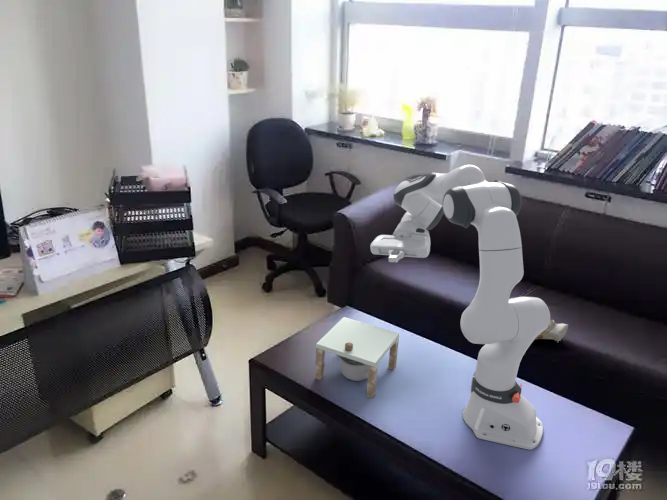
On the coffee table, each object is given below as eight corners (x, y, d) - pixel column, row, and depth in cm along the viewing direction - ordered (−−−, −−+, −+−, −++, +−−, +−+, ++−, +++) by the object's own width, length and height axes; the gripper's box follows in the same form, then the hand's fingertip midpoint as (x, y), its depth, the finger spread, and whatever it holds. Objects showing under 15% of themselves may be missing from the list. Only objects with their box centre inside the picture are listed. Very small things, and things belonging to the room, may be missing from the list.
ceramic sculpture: (569, 327, 201) (524, 321, 205) (566, 349, 204) (522, 343, 209) (568, 313, 210) (525, 308, 215) (565, 334, 214) (522, 328, 218)
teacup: (369, 388, 180) (371, 366, 177) (335, 382, 182) (336, 361, 179) (375, 362, 192) (377, 342, 189) (343, 358, 194) (345, 337, 191)
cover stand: (396, 366, 191) (399, 337, 187) (372, 398, 175) (374, 367, 171) (342, 348, 199) (344, 320, 195) (315, 378, 183) (316, 348, 179)
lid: (398, 337, 186) (399, 329, 185) (375, 367, 171) (375, 358, 169) (343, 320, 194) (344, 312, 193) (316, 347, 179) (316, 339, 178)
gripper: (376, 227, 203) (362, 250, 193) (432, 230, 194) (420, 254, 184) (379, 242, 206) (365, 265, 197) (435, 246, 197) (423, 270, 187)
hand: (392, 260), depth 190 cm, fingers closed
